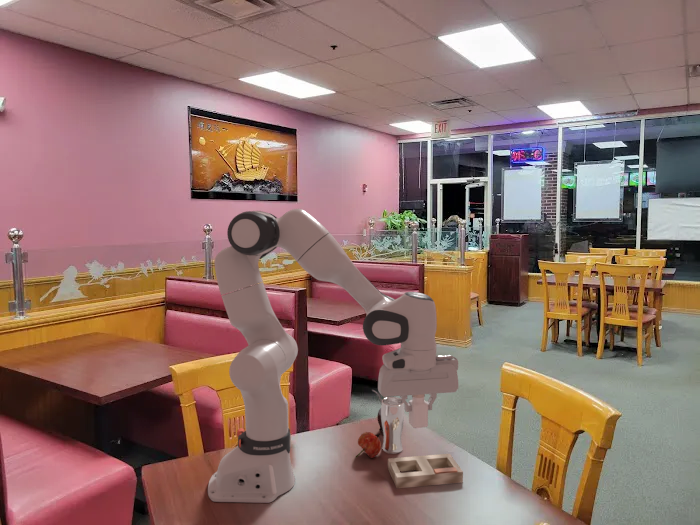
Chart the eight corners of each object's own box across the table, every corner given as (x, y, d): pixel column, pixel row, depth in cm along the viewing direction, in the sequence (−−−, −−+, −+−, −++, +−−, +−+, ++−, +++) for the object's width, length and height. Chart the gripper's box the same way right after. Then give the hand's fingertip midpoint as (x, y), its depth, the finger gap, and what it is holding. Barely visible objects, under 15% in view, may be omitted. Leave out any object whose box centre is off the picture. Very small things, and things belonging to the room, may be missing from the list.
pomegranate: (364, 471, 147) (391, 448, 148) (348, 451, 146) (375, 429, 147) (360, 461, 154) (386, 439, 155) (345, 442, 154) (371, 420, 155)
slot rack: (396, 488, 134) (397, 476, 134) (387, 468, 144) (387, 457, 144) (462, 482, 137) (463, 470, 137) (449, 463, 147) (449, 452, 146)
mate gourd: (402, 430, 168) (403, 386, 166) (392, 440, 161) (392, 394, 159) (382, 425, 172) (382, 382, 170) (370, 434, 165) (371, 389, 163)
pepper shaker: (407, 423, 132) (408, 387, 131) (422, 421, 133) (422, 385, 132) (413, 429, 128) (414, 392, 127) (428, 427, 129) (429, 391, 128)
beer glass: (402, 455, 151) (403, 406, 149) (379, 453, 153) (379, 404, 151) (404, 444, 158) (405, 397, 156) (382, 442, 159) (382, 395, 158)
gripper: (454, 351, 133) (453, 402, 135) (376, 355, 130) (376, 408, 132) (462, 358, 127) (462, 412, 129) (381, 363, 124) (381, 418, 126)
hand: (418, 410), depth 130 cm, fingers closed on pepper shaker, 4 cm apart
